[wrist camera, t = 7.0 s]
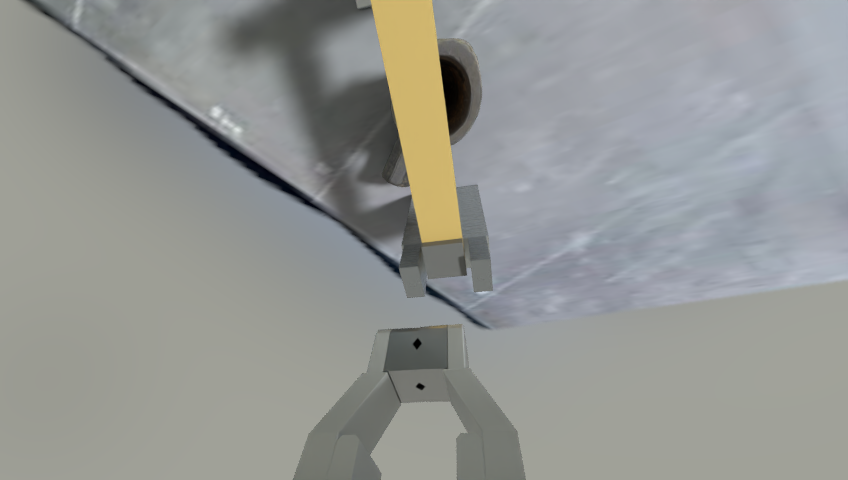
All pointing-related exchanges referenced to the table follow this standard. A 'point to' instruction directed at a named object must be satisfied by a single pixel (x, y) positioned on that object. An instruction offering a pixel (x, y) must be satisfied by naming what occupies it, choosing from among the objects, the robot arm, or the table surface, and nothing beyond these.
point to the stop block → (472, 241)
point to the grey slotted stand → (363, 4)
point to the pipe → (447, 101)
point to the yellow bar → (422, 128)
